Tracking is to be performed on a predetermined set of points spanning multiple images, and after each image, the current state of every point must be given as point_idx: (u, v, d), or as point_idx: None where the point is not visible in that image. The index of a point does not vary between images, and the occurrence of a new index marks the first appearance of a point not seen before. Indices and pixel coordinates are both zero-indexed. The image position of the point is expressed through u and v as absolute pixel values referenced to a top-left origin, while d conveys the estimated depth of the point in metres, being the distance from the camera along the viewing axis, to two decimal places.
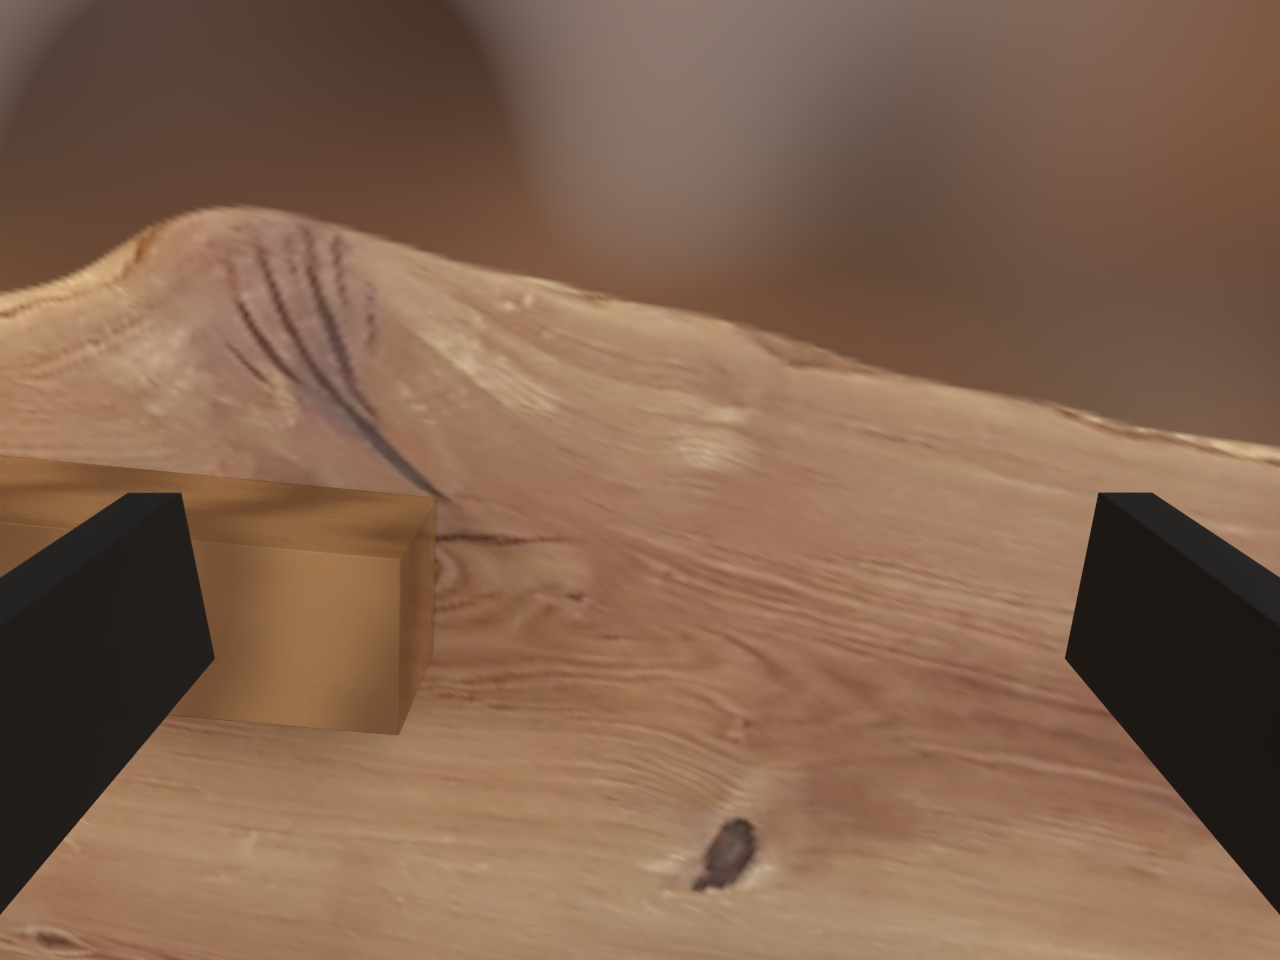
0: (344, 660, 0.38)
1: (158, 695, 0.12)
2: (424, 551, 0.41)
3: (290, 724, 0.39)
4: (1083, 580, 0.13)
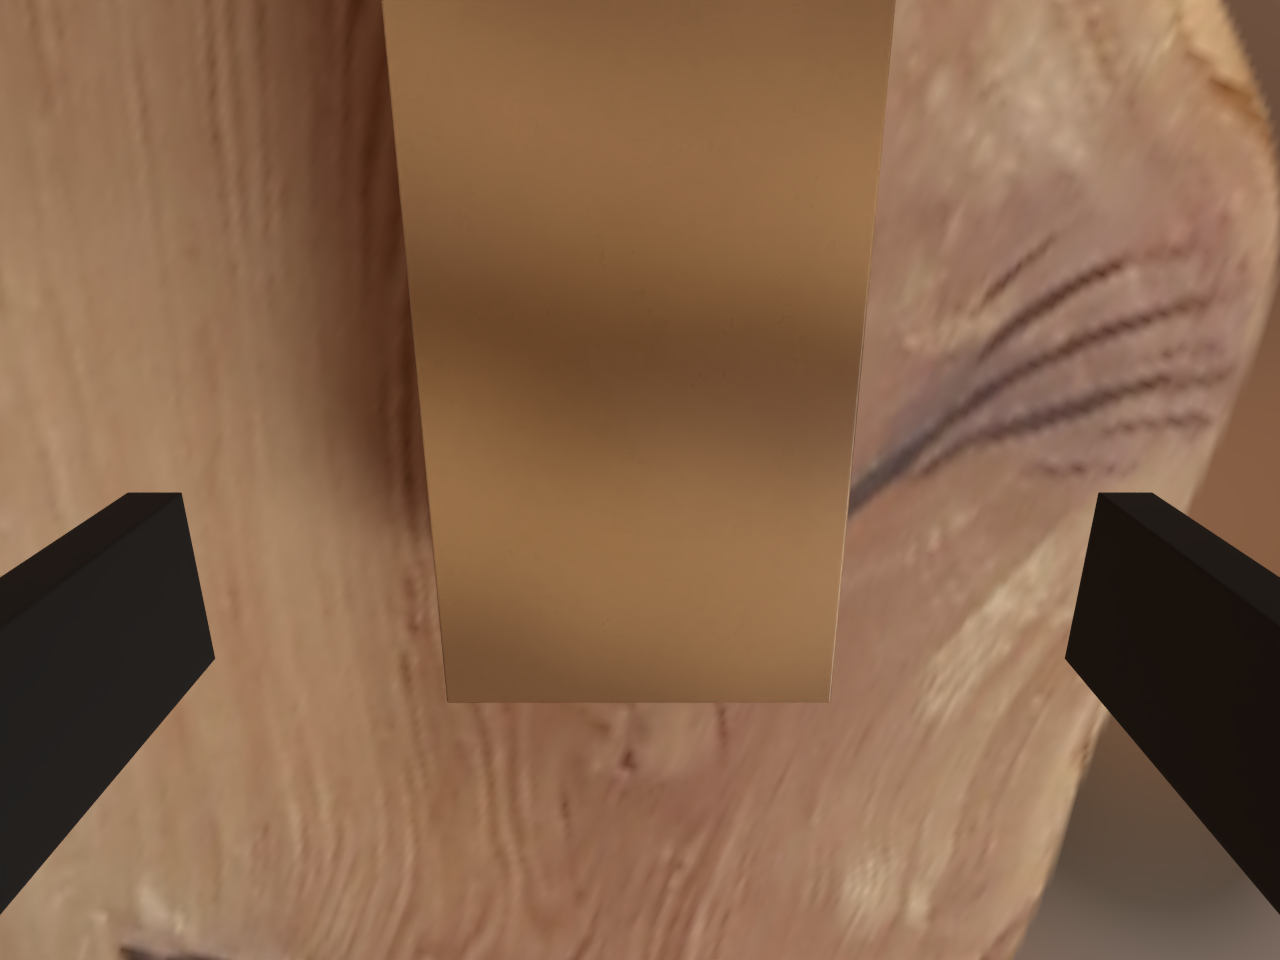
0: (607, 612, 0.19)
1: (158, 695, 0.12)
2: None
3: (433, 509, 0.18)
4: (1084, 580, 0.13)
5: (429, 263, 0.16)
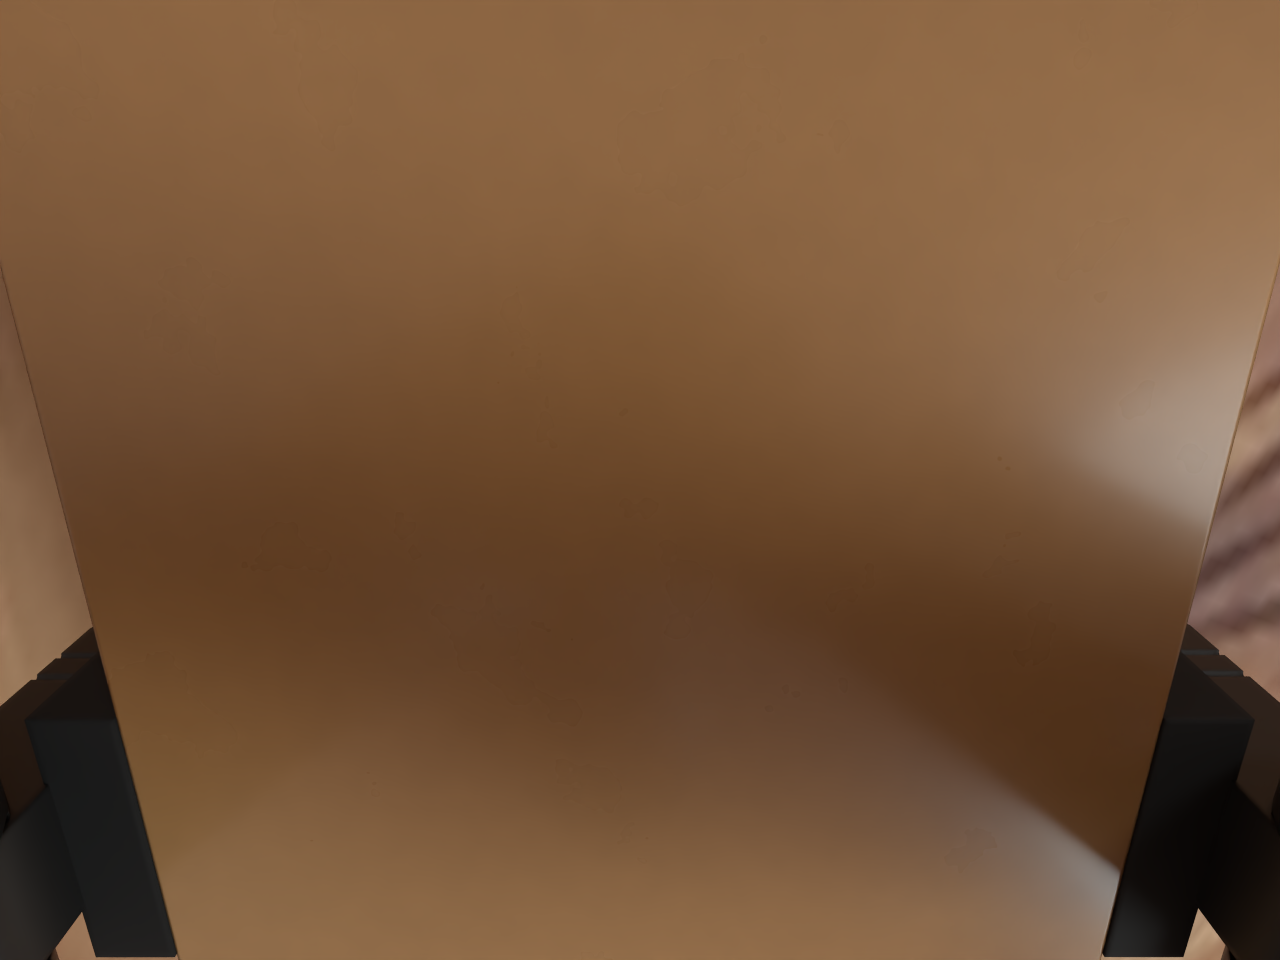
0: None
1: None
2: None
3: (182, 945, 0.08)
4: None
5: (102, 438, 0.06)
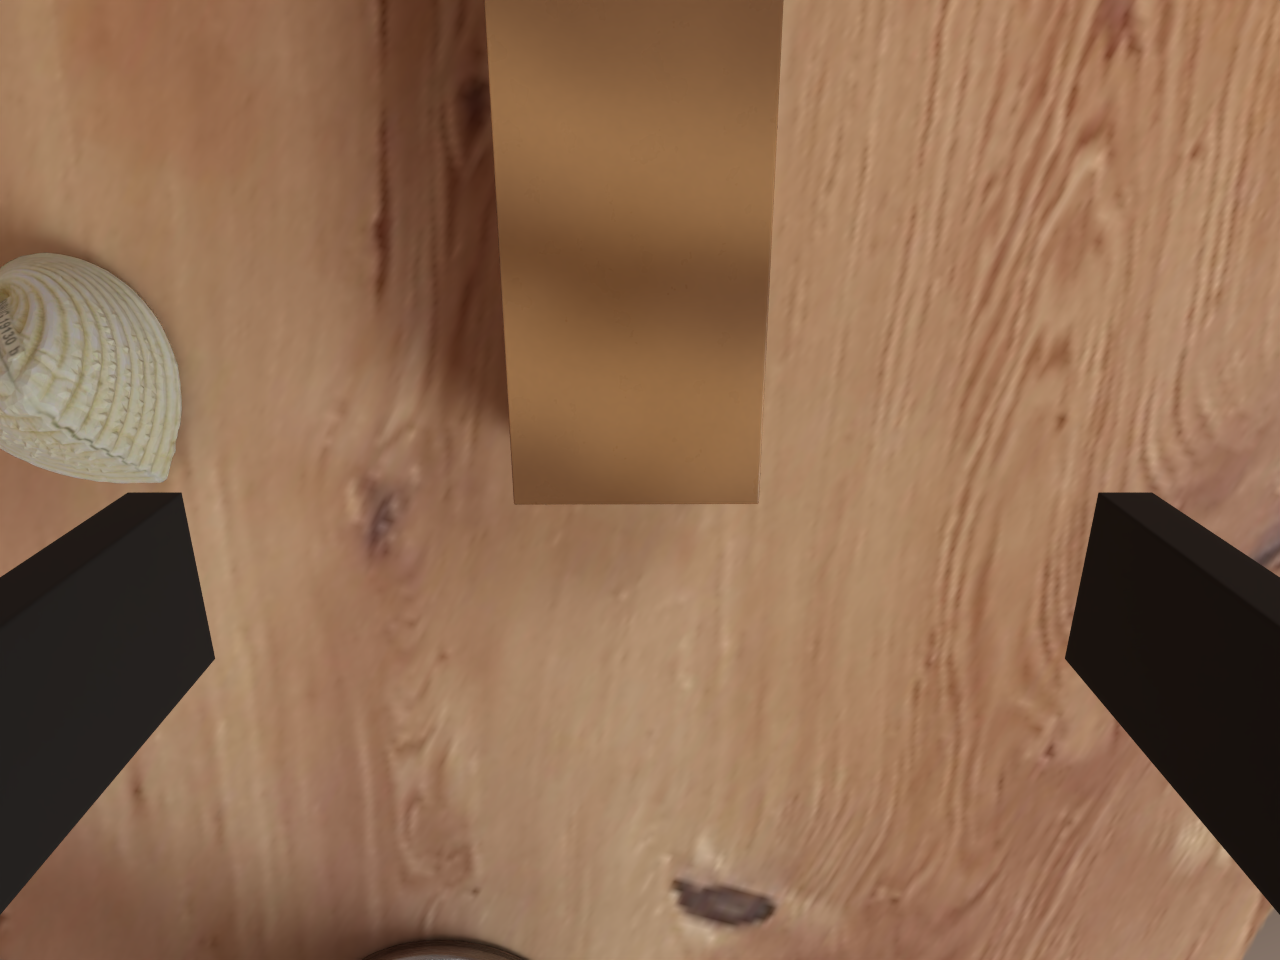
0: (616, 442, 0.30)
1: (158, 695, 0.12)
2: None
3: (508, 373, 0.29)
4: (1084, 580, 0.13)
5: (511, 219, 0.28)
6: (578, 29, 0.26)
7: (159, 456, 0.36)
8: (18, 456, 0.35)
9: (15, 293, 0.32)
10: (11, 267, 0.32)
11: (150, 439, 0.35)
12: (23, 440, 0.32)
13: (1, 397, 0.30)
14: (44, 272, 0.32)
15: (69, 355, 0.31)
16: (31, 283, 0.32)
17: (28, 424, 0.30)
